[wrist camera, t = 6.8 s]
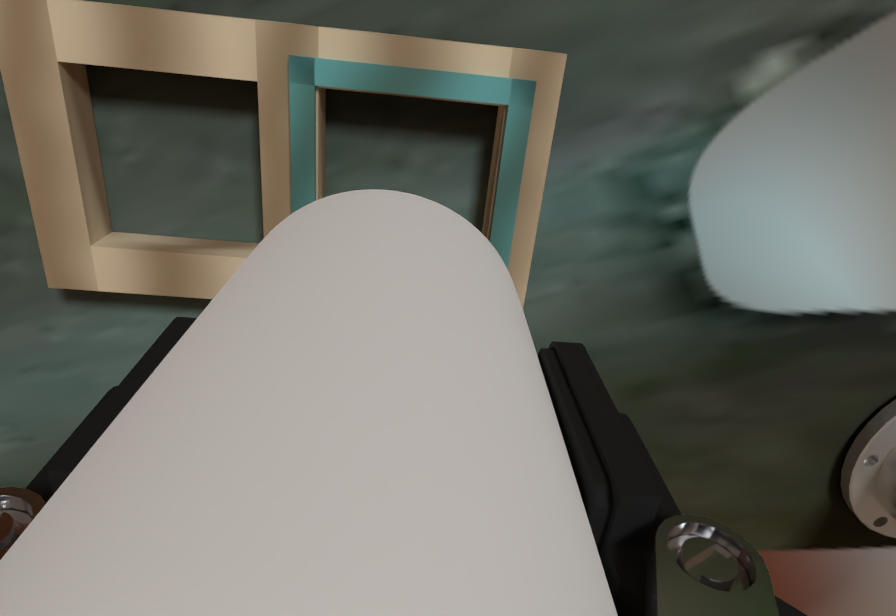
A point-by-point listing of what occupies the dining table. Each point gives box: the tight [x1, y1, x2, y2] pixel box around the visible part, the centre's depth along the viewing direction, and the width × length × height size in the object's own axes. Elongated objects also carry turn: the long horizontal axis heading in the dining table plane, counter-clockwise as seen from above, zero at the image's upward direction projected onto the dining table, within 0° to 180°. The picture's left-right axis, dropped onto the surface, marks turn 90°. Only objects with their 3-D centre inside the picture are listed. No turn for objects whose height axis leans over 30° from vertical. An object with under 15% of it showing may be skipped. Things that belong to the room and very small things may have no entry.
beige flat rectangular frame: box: [0, 0, 567, 309], centre depth 25 cm, size 22×12×2 cm, turn 84°
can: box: [0, 189, 618, 616], centre depth 8 cm, size 6×6×12 cm
